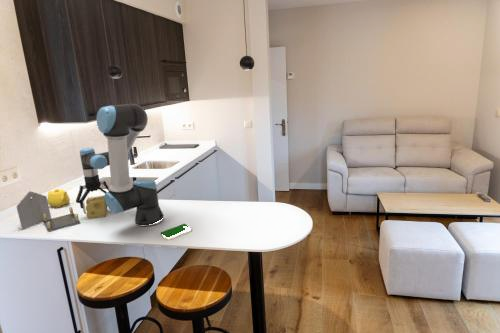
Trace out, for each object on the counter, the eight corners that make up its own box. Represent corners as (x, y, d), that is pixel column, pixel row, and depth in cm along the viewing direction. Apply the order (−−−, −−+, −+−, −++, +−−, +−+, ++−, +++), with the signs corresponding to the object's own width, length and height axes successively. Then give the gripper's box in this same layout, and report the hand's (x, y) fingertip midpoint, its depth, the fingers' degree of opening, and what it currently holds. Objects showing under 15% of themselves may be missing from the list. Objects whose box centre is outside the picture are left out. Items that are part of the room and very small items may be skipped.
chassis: (80, 223, 189) (78, 214, 187) (48, 232, 180) (46, 223, 178) (73, 214, 201) (72, 206, 200) (43, 222, 192) (41, 214, 191)
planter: (43, 216, 202) (36, 185, 197) (51, 218, 198) (44, 186, 193) (14, 227, 188) (6, 194, 183) (22, 229, 184) (14, 196, 179)
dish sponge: (160, 236, 169) (160, 232, 168) (184, 227, 178) (184, 223, 177) (168, 241, 163) (167, 236, 163) (192, 231, 172) (192, 227, 172)
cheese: (87, 219, 194) (84, 203, 191) (90, 212, 204) (87, 196, 201) (106, 216, 196) (103, 200, 194) (108, 210, 206) (106, 194, 204)
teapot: (77, 204, 219) (74, 188, 217) (61, 210, 210) (58, 193, 207) (59, 200, 227) (55, 185, 224) (43, 206, 218) (39, 190, 215)
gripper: (111, 169, 204) (116, 202, 210) (65, 178, 189) (72, 213, 195) (115, 171, 198) (120, 205, 204) (68, 181, 184) (75, 217, 189)
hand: (97, 209), depth 199 cm, fingers open, 13 cm apart
